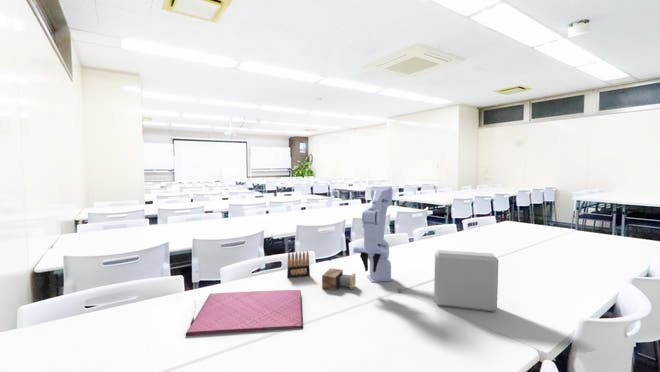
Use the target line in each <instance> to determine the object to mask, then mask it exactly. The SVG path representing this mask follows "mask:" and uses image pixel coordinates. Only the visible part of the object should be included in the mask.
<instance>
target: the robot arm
mask: <svg viewBox="0 0 660 372" xmlns="http://www.w3.org/2000/svg"><path fill="white" fill-rule="evenodd" d="M393 191H394V190H393V188H392V186H373V185H372V186H371V189H370V198H371V200H370V201H369V203H368V206H367V207H366V210H364V211H363V212H362V213H361V214H362V215H361V221H362V228H363V247H353V249H352V250H353V251H352V252H353V253H352V254H360V255H359V256H360V259H361V261H362V263H363V268H364V272H368V270H369V274H367V275H366V277H367V278H368V279H369V281H370V282H371V283H377V282H391V281H392V264H391V261H390V259H389V258H390V257H389V256H390V244H389V242H387V240H385V239H384V238H385V229H386V228H385V227H386V221H387V220H386V219H387V211H388V207H390V206H392V203H393Z"/></svg>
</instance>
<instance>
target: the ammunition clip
mask: <svg viewBox="0 0 660 372" xmlns="http://www.w3.org/2000/svg"><path fill="white" fill-rule="evenodd" d="M309 256H310V255H309V251H308V250H307V251H306V253H305V251H302V253H301V251H299V253H298V252H297V251H296V252H295V254H294V252H293V251H292V253H290V252H288V254H287V262H286V263H287V271H286V272H287V273H286V274H287V276H286V277H287V278H288V279H292V278H306V277H311V271H310V269H311V268H310V257H309Z"/></svg>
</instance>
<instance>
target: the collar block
mask: <svg viewBox="0 0 660 372" xmlns="http://www.w3.org/2000/svg"><path fill="white" fill-rule="evenodd" d="M343 273H344V272H343V269H339V268H329V269H327V271H325V273H324V274H322V275H321V288H322V289H323V290H330V291H337V290H339V288H340V287H341V285H339V276H340V275H341V274H343Z"/></svg>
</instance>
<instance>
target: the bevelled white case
mask: <svg viewBox="0 0 660 372" xmlns="http://www.w3.org/2000/svg"><path fill="white" fill-rule="evenodd" d="M433 283H434V285H433V287H434V289H433V290H434V292H433V293H434V295H433V297H434V303H435V304H436V306H439V307H449V308H458V309H467V310H477V311H482V312H483V311H484V312H495V311H496V310H497V309H498V293H499V292H498V287H499V285H498V284H499V259H498V258H497V257H496V256H495V255H494V254H493V253H492V252H491V253H490V252H489V253H487V252H473V251H455V250H441V249H438V250H436V251H435V252H434V282H433Z"/></svg>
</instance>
